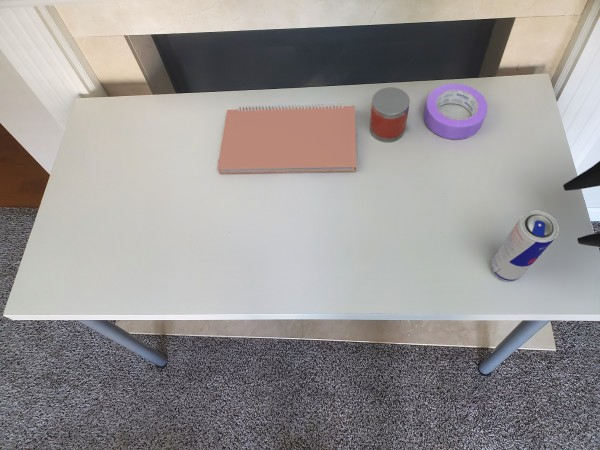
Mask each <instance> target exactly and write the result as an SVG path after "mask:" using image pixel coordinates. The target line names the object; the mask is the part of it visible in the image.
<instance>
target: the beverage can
mask: <svg viewBox="0 0 600 450" xmlns="http://www.w3.org/2000/svg"><path fill="white" fill-rule="evenodd" d="M559 232H560V226H559V223H558V221H557V219H555V218H554V217H553V215H551V214H550V213H548V212H546V211H542V210H539V209H537V210H536V209H535V210H529V211H527V212H525V213H523V214H522V216H521V217H520V218H519V220H517V222H516V224H515V226H514V227H513V228H512V230H511V231H510V232H509V234H508V236H507V237H506V239H505V240H504V241H503V243H502V244H501V246H500V247H499V249H498V250H497V251H496V253H495V255H494V256H493V258H492V259H491V261H490V268H491V271H492V273H493V274H494V275H495V276H496V278H498V279H500V280H501V281H504V282H515V281H518V280H519V279H520V278H522V277H523V276H524V274H525V273H527V271H528V270H529V269H530V267H531V266H532V265H533V264H534V263H535V262H536V261H537V260H538V258H540V257H541V255H543V253H544V252H545V251H546V249H547V248H548V247H549V246H550V245H551V244H552V243H553V242H554V240H555V239H556V238H557V237H558V235H559Z"/></svg>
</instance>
